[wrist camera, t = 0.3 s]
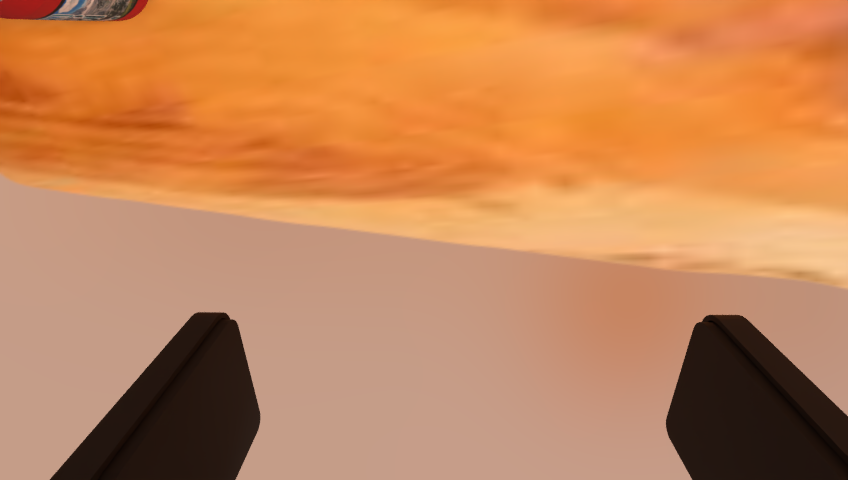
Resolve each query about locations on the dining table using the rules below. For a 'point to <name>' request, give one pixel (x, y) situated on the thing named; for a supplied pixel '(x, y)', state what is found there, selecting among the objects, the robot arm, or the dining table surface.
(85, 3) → the beverage can
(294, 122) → the dining table surface
